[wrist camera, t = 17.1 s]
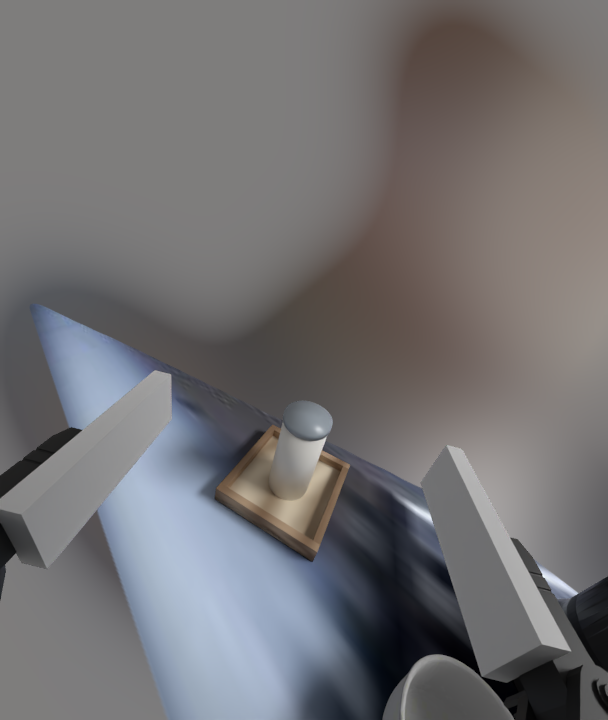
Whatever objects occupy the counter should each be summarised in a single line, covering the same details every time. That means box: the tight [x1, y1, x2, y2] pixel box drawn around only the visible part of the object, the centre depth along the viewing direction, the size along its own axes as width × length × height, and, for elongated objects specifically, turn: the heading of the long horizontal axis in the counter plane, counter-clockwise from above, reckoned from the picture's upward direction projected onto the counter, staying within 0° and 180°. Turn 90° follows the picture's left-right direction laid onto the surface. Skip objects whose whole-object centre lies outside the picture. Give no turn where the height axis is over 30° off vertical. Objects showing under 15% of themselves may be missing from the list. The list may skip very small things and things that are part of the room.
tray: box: [215, 425, 350, 562], centre depth 43 cm, size 16×16×2 cm
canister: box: [269, 401, 333, 501], centre depth 40 cm, size 7×7×14 cm
